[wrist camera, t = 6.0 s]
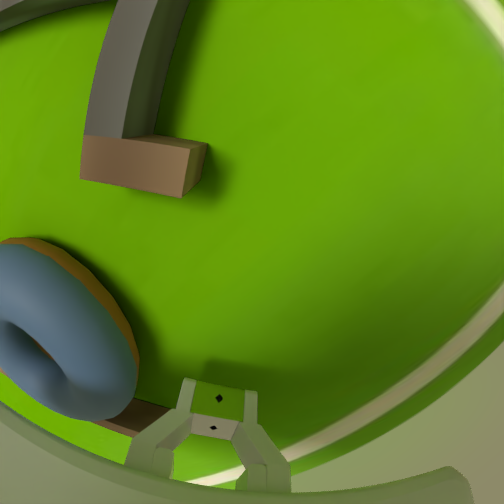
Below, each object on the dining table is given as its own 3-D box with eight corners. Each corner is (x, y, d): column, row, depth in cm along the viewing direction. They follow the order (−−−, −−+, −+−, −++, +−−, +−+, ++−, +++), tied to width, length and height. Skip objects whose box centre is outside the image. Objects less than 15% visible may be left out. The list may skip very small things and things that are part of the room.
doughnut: (196, 348, 11) (157, 436, 7) (103, 396, 15) (73, 446, 11) (45, 175, 9) (-39, 207, 5) (4, 287, 13) (-40, 322, 8)
